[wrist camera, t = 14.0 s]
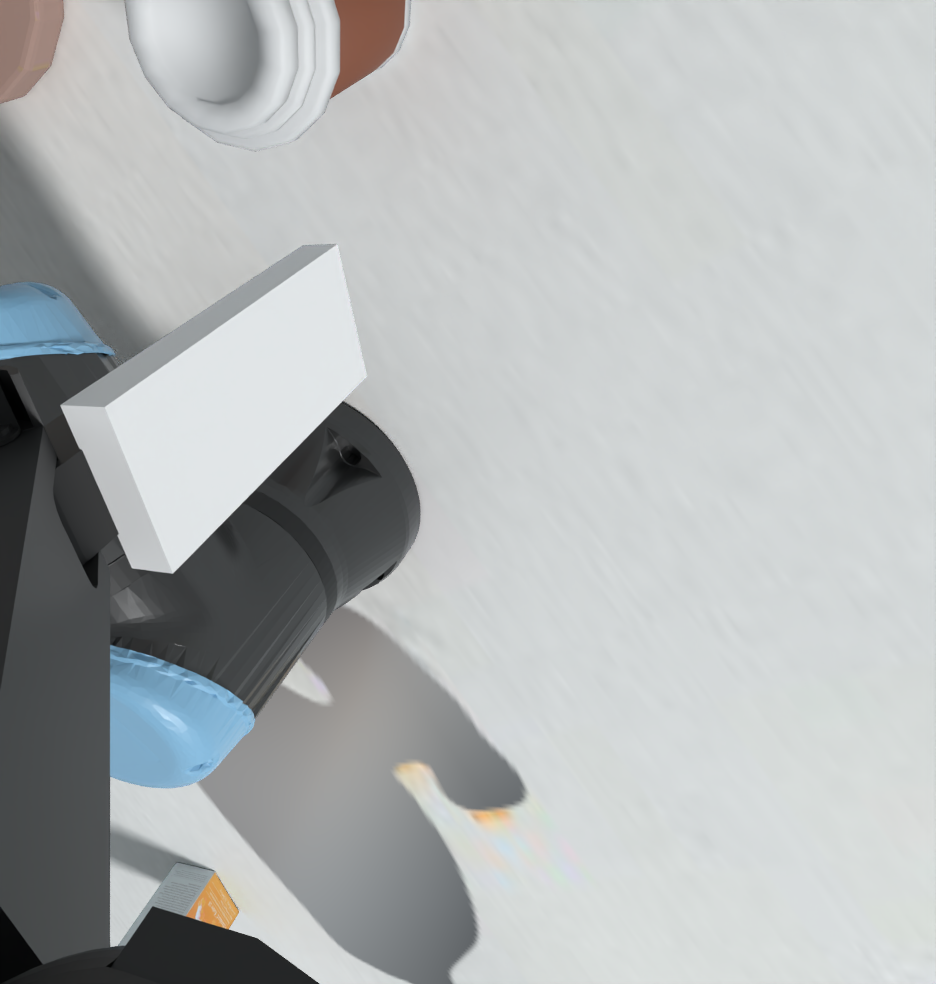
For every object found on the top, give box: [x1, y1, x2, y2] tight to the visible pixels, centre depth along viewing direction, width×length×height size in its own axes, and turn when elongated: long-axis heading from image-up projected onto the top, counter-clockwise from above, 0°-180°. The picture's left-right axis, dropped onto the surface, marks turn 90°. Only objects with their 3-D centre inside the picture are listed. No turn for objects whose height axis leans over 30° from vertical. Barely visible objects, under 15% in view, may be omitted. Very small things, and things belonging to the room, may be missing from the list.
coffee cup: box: [125, 0, 411, 152], centre depth 37 cm, size 9×9×12 cm
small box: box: [118, 863, 239, 946], centre depth 100 cm, size 8×6×13 cm
